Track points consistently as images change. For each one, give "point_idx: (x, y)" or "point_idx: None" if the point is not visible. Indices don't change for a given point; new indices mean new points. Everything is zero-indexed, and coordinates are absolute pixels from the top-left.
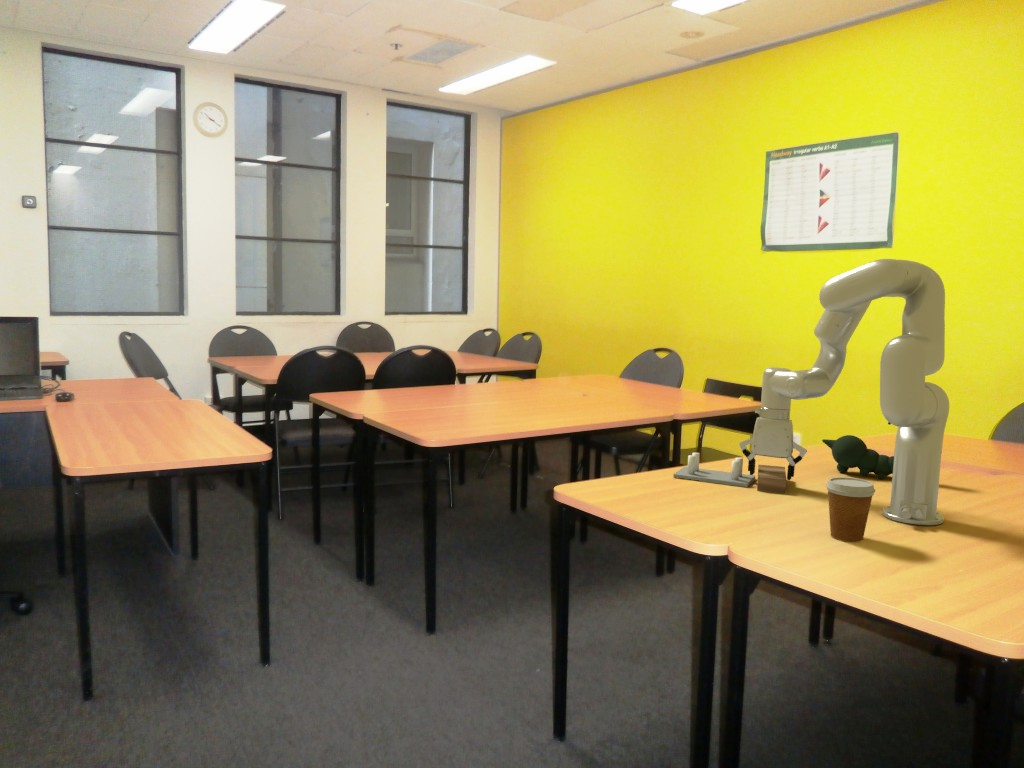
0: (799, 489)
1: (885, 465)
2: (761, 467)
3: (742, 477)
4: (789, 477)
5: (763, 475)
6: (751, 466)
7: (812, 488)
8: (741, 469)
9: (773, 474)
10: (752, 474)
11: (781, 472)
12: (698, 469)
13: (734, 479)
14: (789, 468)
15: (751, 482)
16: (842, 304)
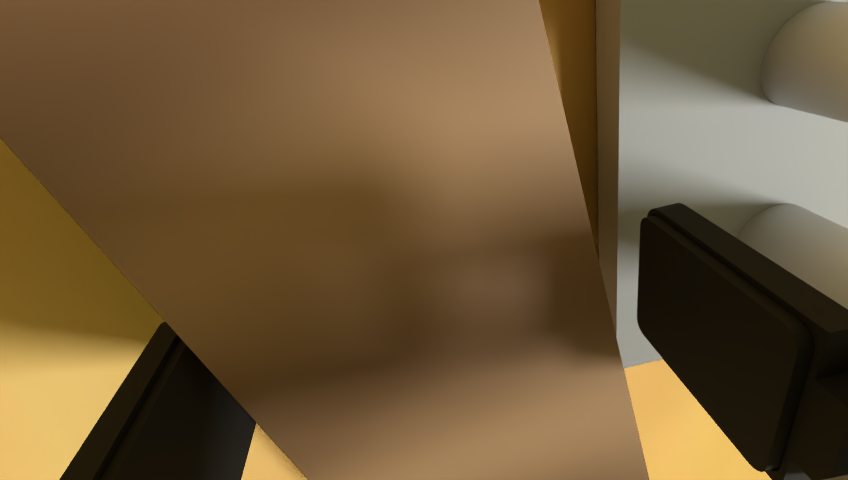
0: (111, 301)
1: None
2: (605, 450)
3: (723, 214)
4: (154, 341)
5: (429, 14)
6: (748, 263)
7: (70, 411)
8: (813, 275)
9: (329, 231)
10: (644, 219)
11: (315, 414)
12: None
13: (820, 5)
14: (92, 458)
15: (600, 193)
16: None
